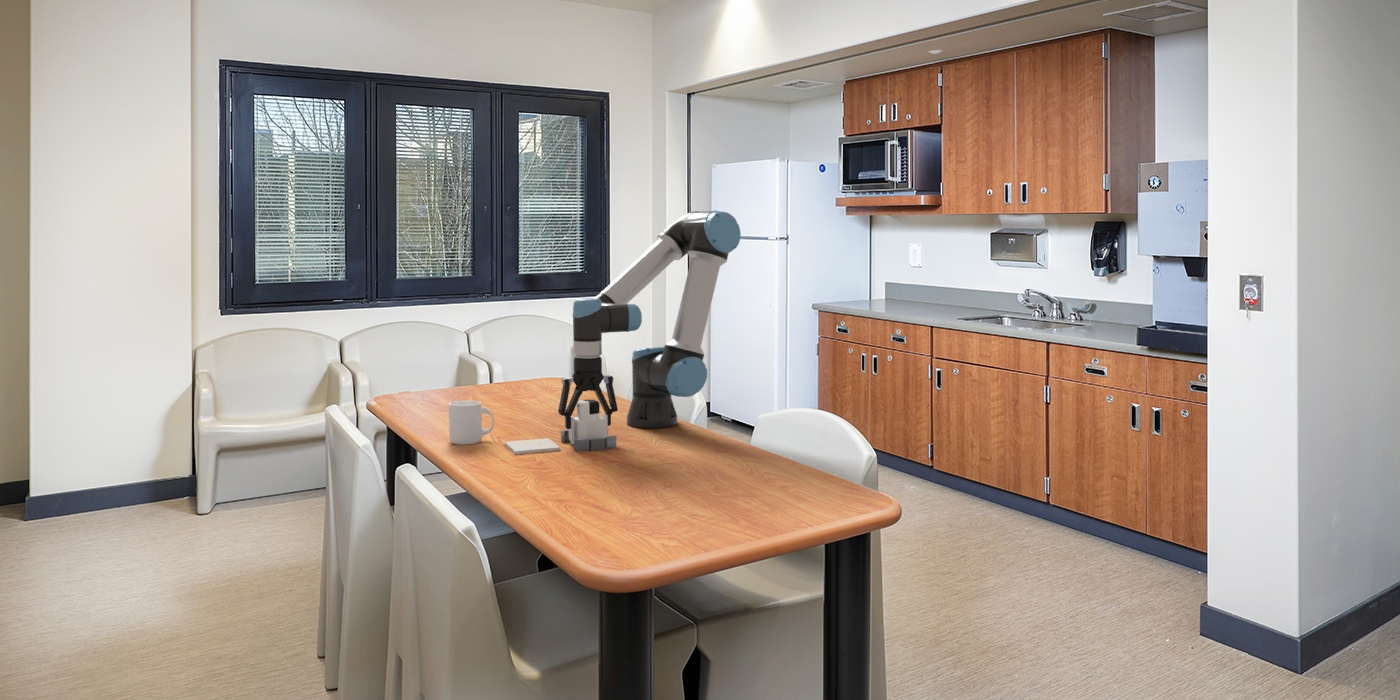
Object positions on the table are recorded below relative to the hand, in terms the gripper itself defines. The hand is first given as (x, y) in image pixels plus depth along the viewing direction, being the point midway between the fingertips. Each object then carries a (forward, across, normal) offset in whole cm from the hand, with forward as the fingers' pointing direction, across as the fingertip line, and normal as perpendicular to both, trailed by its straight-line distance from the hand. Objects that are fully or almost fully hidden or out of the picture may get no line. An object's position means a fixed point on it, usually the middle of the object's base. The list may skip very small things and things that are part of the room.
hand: (588, 439), depth 260 cm
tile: (+1, +15, -2) cm, 15 cm away
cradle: (+1, 0, 0) cm, 1 cm away
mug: (+2, +28, -16) cm, 32 cm away
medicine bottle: (+2, 0, 0) cm, 2 cm away
